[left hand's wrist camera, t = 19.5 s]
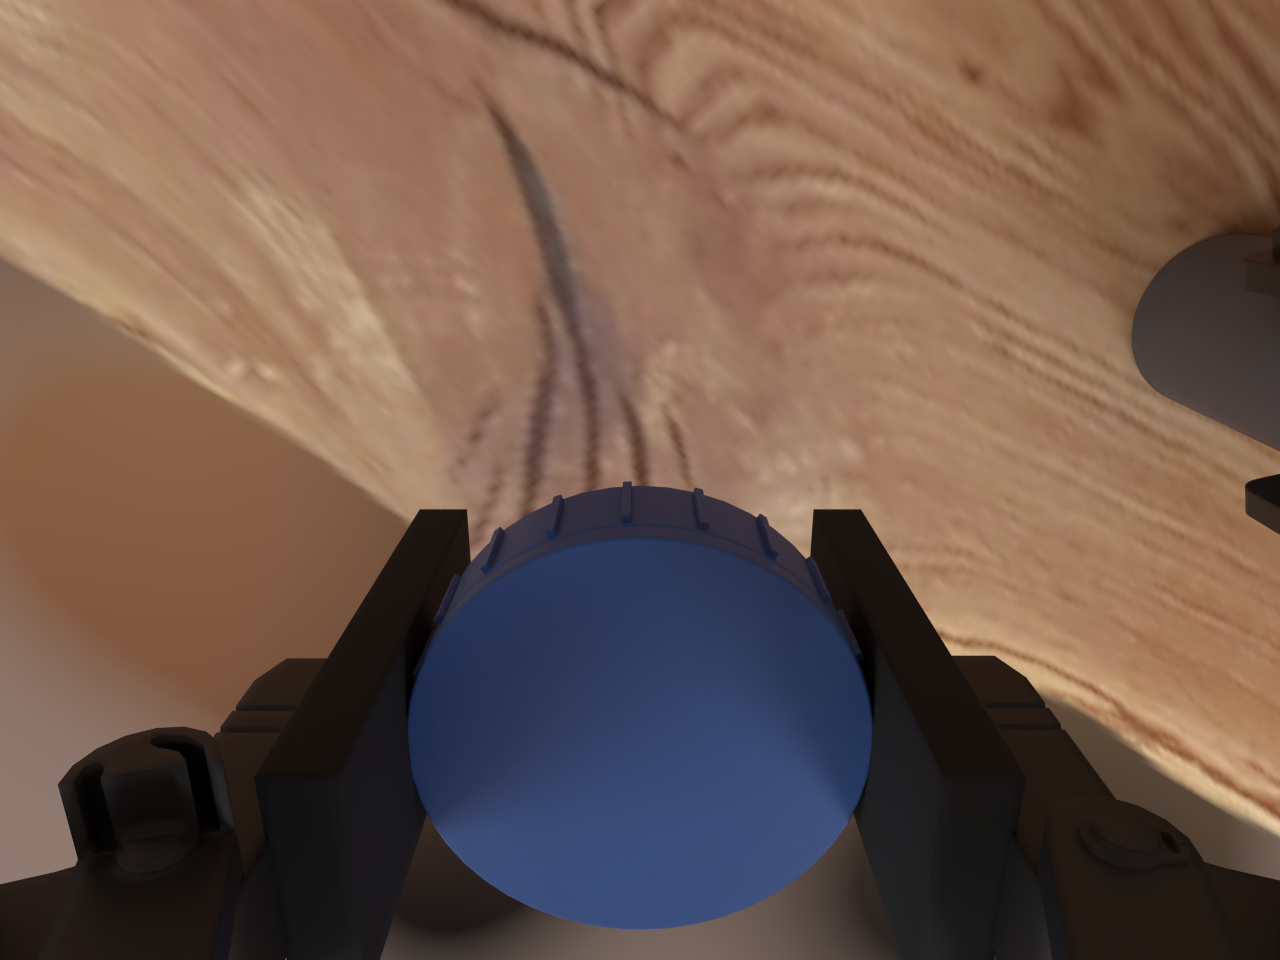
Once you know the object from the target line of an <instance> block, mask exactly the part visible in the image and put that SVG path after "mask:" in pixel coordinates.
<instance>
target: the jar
mask: <svg viewBox="0 0 1280 960" xmlns="http://www.w3.org/2000/svg"><path fill="white" fill-rule="evenodd" d="M1271 248H1272V237H1267V236H1260V235H1253V234H1238V233H1237V234H1227V235H1221V236H1217V237H1213V238H1210V239H1207V240H1205V241H1202V242H1200V243H1198V244H1196V245H1194V246H1192V247H1190V248H1188V249H1186V250H1185V251H1183V252H1182V253H1180V254H1179V255H1177V256H1176V257H1175V258H1174V259H1172V260H1171V261H1170V262H1169V263H1168V264H1167V265H1166V266H1165V267H1164V268H1163V269H1162V270H1161V271H1160V272H1159V273H1158V274H1157V275H1156V276H1155V278H1154V279H1153V280H1152V281H1151V283H1150V284H1149V286H1148V288H1147V289H1146V291H1145V292H1144V294H1143V296H1142V298H1141V300H1140V303H1139V305H1138V308H1137V311H1136V314H1135V318H1134V323H1133V330H1132V347H1133V352H1134V357H1135V360H1136V363H1137V366H1138V368H1139V370H1140V372H1141V374H1142V376H1143V377H1144V378H1145V380H1146V381H1147V382H1148V384H1150V385H1151V386H1152V387H1153V388H1154V389H1155V390H1156V391H1157V392H1159V393H1160V394H1162V395H1163V396H1165V397H1167V398H1169V399H1171V400H1173V401H1176V402H1178V403H1180V404H1182V405H1184V406H1186V407H1188V408H1190V409H1192V410H1194V411H1196V412H1198V413H1201V414H1203V415H1205V416H1207V417H1209V418H1211V419H1213V420H1215V421H1217V422H1219V423H1221V424H1223V425H1226V426H1228V427H1230V428H1232V429H1234V430H1236V431H1238V432H1240V433H1242V434H1244V435H1246V436H1249V437H1251V438H1253V439H1255V440H1257V441H1259V442H1261V443H1263V444H1265V445H1267V446H1269V447H1271V448H1274V449H1276V450H1278V451H1280V298H1278V297H1273V296H1269V295H1265V294H1261V293H1257V292H1252V291H1248V290H1245V289H1244V264H1243V258H1244V256H1246V255H1248V254H1251V253H1255V252H1259V251H1263V250H1267V249H1271Z"/></svg>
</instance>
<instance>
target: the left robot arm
mask: <svg viewBox="0 0 1280 960" xmlns="http://www.w3.org/2000/svg"><path fill="white" fill-rule="evenodd" d="M810 556H812V558H813V559H814V560H815V562H816V564H817V566H818V569H819V571H820V573H821V576H822V578H823V580H824V583H825V585H826V587H827V589H828V592H829V594H830V596H831V599H832V602H833V604H834V606H835V608H836V610H837V611H838V610H841V609H843V611H844V614H845V616H846V618H847V620H848V623H849V625H850V627H851V629H852V632H853V634H854V636H855V638H856V640H857V643H858V645H859V647H860V649H861V652H862V654H863V657H864V660H861V661H859V664H860V666H861V668H862V671H863V674H864V677H865V680H866V684H867V687H868V691H869V694H870V697H871V705H872V712H873V734H872V745H871V754H870V763H869V772H868V778H867V781H866V784H865V787H864V790H863V792H862V795H861V798H860V801H859V803H858V805H857V807H856V808H855V810H854V812H853V813H854V816H855V819H856V822H857V826H858V829H859V832H860V835H861V838H862V841H863V844H864V847H865V850H866V853H867V857H868V860H869V863H870V866H871V869H872V872H873V875H874V878H875V881H876V884H877V887H878V891H879V894H880V897H881V900H882V903H883V906H884V909H885V912H886V915H887V918H888V922H889V925H890V928H891V931H892V934H893V937H894V940H895V943H896V946H897V949H898V952H899V955H900V959H901V960H994V955H996V958H997V960H1280V881H1279V880H1275V879H1271V878H1266V877H1262V876H1257V875H1253V874H1248V873H1244V872H1239V871H1235V870H1230V869H1226V868H1223V867H1219V866H1216V865H1212V864H1209V863H1206V862H1203V859H1202V857H1201V856H1200V854H1199V853H1198V851H1197V850H1196V849H1195V847H1194V846H1193V844H1192V843H1191V841H1190V840H1189V838H1188V837H1187V836H1185V835H1184V834H1183V833H1182V832H1180V831H1179V830H1178V829H1177V828H1175V827H1174V826H1173V825H1172V824H1170V823H1169V822H1168V821H1167V820H1165V819H1163V818H1161V817H1159V816H1158V815H1155V814H1153V813H1151V812H1150V811H1148V810H1146V809H1143V808H1142V807H1140V806H1138V805H1134V804H1130V803H1127V802H1123V801H1120V800H1116V799H1115V797H1114V796H1113V794H1112V793H1111V792H1110V790H1109V789H1108V788H1107V786H1106V785H1105V784H1104V782H1103V781H1102V780H1101V778H1100V777H1099V776H1098V774H1097V773H1096V771H1095V770H1094V769H1093V767H1092V766H1091V765H1090V763H1089V762H1088V761H1087V759H1086V758H1085V756H1084V755H1083V754H1082V752H1081V751H1080V750H1079V748H1078V747H1077V746H1076V744H1075V743H1074V742H1073V740H1072V739H1071V738H1070V736H1069V735H1068V733H1067V732H1066V731H1065V730H1061V724H1060V723H1059V721H1058V720H1057V719H1056V717H1055V716H1054V714H1053V713H1052V712H1051V710H1050V709H1049V708H1045V702H1044V701H1043V700H1042V698H1041V697H1040V695H1039V694H1038V693H1037V691H1036V690H1035V689H1034V687H1033V686H1032V685H1031V683H1030V682H1029V681H1028V679H1027V678H1026V677H1025V676H1023V675H1022V674H1020V673H1019V672H1017V671H1016V670H1014V669H1013V668H1012V667H1010V666H1009V665H1007V664H1006V663H1004V662H1003V661H1001V660H1000V659H998V658H997V657H995V656H951V654H950V653H949V651H948V649H947V648H946V646H945V644H944V643H943V641H942V640H941V638H940V636H939V635H938V633H937V632H936V630H935V628H934V627H933V625H932V624H931V622H930V620H929V619H928V617H927V615H926V614H925V612H924V611H923V609H922V607H921V606H920V604H919V603H918V601H917V599H916V598H915V596H914V594H913V593H912V591H911V590H910V588H909V586H908V585H907V583H906V582H905V580H904V578H903V577H902V575H901V574H900V572H899V570H898V569H897V567H896V565H895V564H894V562H893V561H892V559H891V557H890V556H889V554H888V553H887V551H886V549H885V548H884V546H883V545H882V543H881V541H880V540H879V538H878V536H877V535H876V533H875V532H874V530H873V528H872V527H871V525H870V524H869V522H868V520H867V519H866V517H865V515H864V514H863V512H862V511H861V509H814V512H813V526H812V540H811V554H810ZM470 563H471V560H470V546H469V532H468V518H467V509H420V510H419V512H418V513H417V515H416V516H415V518H414V520H413V521H412V523H411V524H410V526H409V528H408V529H407V531H406V533H405V534H404V536H403V537H402V539H401V541H400V542H399V544H398V545H397V547H396V549H395V550H394V552H393V553H392V555H391V557H390V558H389V560H388V562H387V563H386V565H385V566H384V568H383V570H382V571H381V573H380V574H379V576H378V578H377V579H376V581H375V583H374V584H373V586H372V587H371V589H370V591H369V592H368V594H367V595H366V597H365V599H364V600H363V602H362V603H361V605H360V607H359V608H358V610H357V612H356V613H355V615H354V617H353V618H352V620H351V621H350V623H349V624H348V626H347V628H346V629H345V631H344V633H343V634H342V636H341V637H340V639H339V641H338V642H337V644H336V645H335V647H334V649H333V650H332V652H331V653H330V655H329V657H328V658H327V659H326V658H323V659H322V658H318V659H317V658H314V659H312V658H309V659H308V658H307V659H304V658H301V659H298V658H297V659H294V658H292V659H291V658H288V659H285V660H284V661H282V662H281V663H279V664H278V665H276V666H275V667H274V668H272V669H271V670H269V671H268V672H266V673H265V674H263V675H262V676H261V677H259V678H258V679H256V680H255V681H254V682H253V684H252V685H251V686H250V688H249V689H248V690H247V692H246V693H245V694H244V696H243V697H242V699H241V700H240V701H239V703H238V704H237V705H236V711H232V712H231V714H230V715H229V716H228V718H227V719H226V720H225V722H224V723H223V724H222V726H221V730H220V733H216V734H215V736H214V737H212V736H211V735H210V734H208V733H207V732H206V731H201V730H197V729H192V728H188V727H169V728H155V729H151V730H147V731H143V732H139V733H135V734H131V735H127V736H124V737H122V738H120V739H118V740H115V741H113V742H111V743H108V744H106V745H104V746H102V747H99V748H97V749H96V750H94V751H93V752H91V753H90V754H89V755H87V756H86V757H84V758H83V759H81V760H80V761H79V762H77V763H76V764H74V765H73V766H72V767H71V769H70V770H69V771H68V772H67V774H66V775H65V776H64V777H63V779H62V780H61V781H60V782H59V784H58V787H59V791H60V794H61V798H62V802H63V805H64V809H65V813H66V816H67V820H68V824H69V827H70V831H71V835H72V839H73V842H74V846H75V850H76V853H77V857H78V861H77V863H76V866H74V867H71V868H67V869H64V870H61V871H57V872H54V873H49V874H45V875H40V876H36V877H31V878H27V879H22V880H18V881H13V882H9V883H4V884H0V960H285V959H286V958H287V960H380V957H381V954H382V951H383V948H384V945H385V942H386V939H387V935H388V932H389V929H390V926H391V923H392V920H393V917H394V914H395V911H396V908H397V904H398V902H399V898H400V895H401V892H402V889H403V886H404V883H405V880H406V877H407V874H408V871H409V867H410V864H411V861H412V858H413V855H414V852H415V849H416V846H417V843H418V840H419V836H420V833H421V830H422V827H423V824H424V821H425V818H426V815H427V812H426V810H425V809H424V807H423V805H422V803H421V801H420V798H419V795H418V792H417V790H416V787H415V784H414V781H413V776H412V767H411V759H410V750H409V740H408V729H407V712H408V704H409V697H410V694H411V691H412V687H413V684H414V680H413V673H414V671H415V669H416V666H417V664H418V662H419V659H420V657H421V655H422V653H423V650H424V648H425V646H426V643H427V641H428V639H429V636H430V634H431V632H432V630H435V629H436V627H437V624H438V623H437V622H435V621H434V619H435V616H436V614H437V612H438V610H439V607H440V605H441V603H442V601H443V598H444V596H445V594H446V592H447V589H448V587H449V585H450V583H451V580H452V578H453V577H454V575H455V574H457V575H459V576H462V575H463V573H464V571H465V570H466V568H467V567H468V565H469V564H470Z"/></svg>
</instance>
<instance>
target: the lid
mask: <svg viewBox="0 0 1280 960" xmlns="http://www.w3.org/2000/svg"><path fill="white" fill-rule="evenodd" d="M434 621H435V622H437V623H438V624H437V627H436V629H435V630H432V632H431V634H430V636H429V639H428V641H427V643H426V646H425V648H424V650H423V653H422V655H421V657H420V659H419V662H418V664H417V666H416V669H415V671H414V673H413V680H414V684H413V687H412V691H411V694H410V697H409V704H408V712H407V729H408V740H409V750H410V759H411V767H412V776H413V781H414V784H415V787H416V790H417V792H418V795H419V798H420V801H421V803H422V805H423V807H424V809H425V810H426V812H427V814H428V816H429V818H430V820H431V822H432V824H433V825H434V827H435V828H436V829H437V831H438V832H439V833H440V835H441V836H442V838H443V839H444V841H445V842H446V843H447V845H448V846H449V847H450V848H451V849H452V850H453V851H454V852H455V853H456V854H457V855H458V856H459V858H460V859H461V860H462V861H463V862H464V863H465V864H466V865H467V866H469V867H470V868H471V869H472V870H473V871H475V872H476V873H477V874H478V875H480V876H481V877H482V878H483V879H484V880H485V881H487V882H488V883H490V884H491V885H493V886H495V887H496V888H498V889H499V890H501V891H502V892H504V893H505V894H507V895H509V896H510V897H512V898H515V899H516V900H518V901H520V902H522V903H524V904H526V905H528V906H530V907H532V908H535V909H538V910H540V911H543V912H546V913H548V914H551V915H554V916H557V917H560V918H564V919H568V920H571V921H576V922H579V923H583V924H588V925H595V926H602V927H608V928H620V929H660V928H672V927H679V926H685V925H691V924H697V923H701V922H705V921H709V920H713V919H716V918H720V917H724V916H726V915H729V914H731V913H734V912H737V911H740V910H742V909H745V908H747V907H750V906H752V905H754V904H756V903H758V902H760V901H761V900H764V899H766V898H767V897H769V896H771V895H773V894H775V893H776V892H778V891H779V890H781V889H782V888H784V887H785V886H787V885H788V884H790V883H792V882H793V881H794V880H796V879H797V878H798V877H799V876H801V875H802V874H803V873H804V872H805V871H807V870H808V869H809V868H810V867H811V866H813V865H814V864H815V863H816V862H817V861H818V860H819V859H820V858H821V856H822V855H823V854H824V853H825V852H826V851H827V850H828V849H829V848H830V847H831V846H832V845H833V843H834V842H835V840H836V839H837V838H838V836H839V835H840V834H841V832H842V831H843V829H844V828H845V826H846V825H847V824H848V822H849V820H850V818H851V816H852V814H853V812H854V810H855V808H856V807H857V805H858V803H859V801H860V798H861V795H862V792H863V790H864V787H865V784H866V781H867V778H868V772H869V763H870V754H871V745H872V734H873V712H872V705H871V697H870V694H869V691H868V687H867V684H866V680H865V677H864V674H863V671H862V668H861V666H860V664H859V661H861V660H864V657H863V654H862V652H861V649H860V647H859V645H858V643H857V640H856V638H855V636H854V634H853V632H852V629H851V627H850V625H849V623H848V620H847V618H846V616H845V614H844V611H843V609H841V610H838V611H837V610H836V608H835V606H834V604H833V602H832V599H831V596H830V594H829V592H828V589H827V587H826V585H825V583H824V580H823V578H822V576H821V573H820V571H819V569H818V566H817V564H816V562H815V560H814V559H813V558H812V556H810V557H808V558H807V559H805V558H804V556H803V555H802V554H801V553H800V552H799V551H798V550H797V549H796V548H795V546H794V545H793V544H791V543H790V542H789V541H788V540H787V539H785V538H784V537H783V536H782V535H781V534H779V533H778V532H777V531H776V530H775V529H774V528H772V527H771V526H769V523H768V520H767V518H766V517H765V516H763V515H762V514H759V515H758V517H757V518H756V517H755V516H753V515H752V514H750V513H748V512H746V511H744V510H742V509H739V508H737V507H735V506H733V505H731V504H729V503H726V502H724V501H721V500H718V499H715V498H712V497H709V496H705V495H704V494H703V490H702V489H699V488H695V489H694V492H690V491H684V490H679V489H673V488H667V487H650V486H632V482H623V487H614V488H606V489H601V490H596V491H590V492H585V493H581V494H578V495H574V496H571V497H568V498H565V499H563V498H562V495H558V496H556V497H554V498H553V501H552V503H551V504H549V505H547V506H545V507H543V508H541V509H538V510H536V511H534V512H532V513H530V514H528V515H527V516H525V517H524V518H522V519H520V520H519V521H517V522H516V523H514V524H513V525H511V526H509V527H508V528H506V529H505V530H503V529H502V528H501V527H499V528H498V529H497V530H495V531H494V534H493V536H492V539H491V541H490V543H489V544H488V545H486V546H485V547H484V549H483V550H482V551H481V552H480V553H479V554H478V555H477V556H476V558H475V559H474V560H473V561H472V562H471V563H470V564H469V565H468V567H467V568H466V570H465V571H464V573H463V575H462V576H459V575H457V574H455V575H454V577H453V578H452V580H451V583H450V585H449V587H448V589H447V592H446V594H445V596H444V598H443V601H442V603H441V605H440V607H439V610H438V612H437V614H436V616H435V619H434Z"/></svg>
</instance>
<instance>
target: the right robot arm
mask: <svg viewBox="0 0 1280 960" xmlns="http://www.w3.org/2000/svg"><path fill="white" fill-rule="evenodd" d="M1243 264H1244V289H1245V290H1248V291H1252V292H1257V293H1261V294H1265V295H1269V296H1273V297H1278V298H1280V226H1279V227H1277V228H1275V229H1274V230H1272V248H1271V249H1267V250H1263V251H1259V252H1255V253H1251V254H1248V255H1246V256H1244V258H1243ZM1245 508H1246V514H1247V515H1249V516H1250V517H1252V518H1253V519H1255V520H1257V521H1258V522H1260V523H1262V524H1263V525H1265V526H1266V527H1268V528H1270V529H1271V530H1273V531H1275V532H1276V533H1278V534H1280V474H1277V475H1273V476H1268V477H1264V478H1259V479H1255V480H1252V481H1250V482H1248V483H1247V484H1246V485H1245Z"/></svg>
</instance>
